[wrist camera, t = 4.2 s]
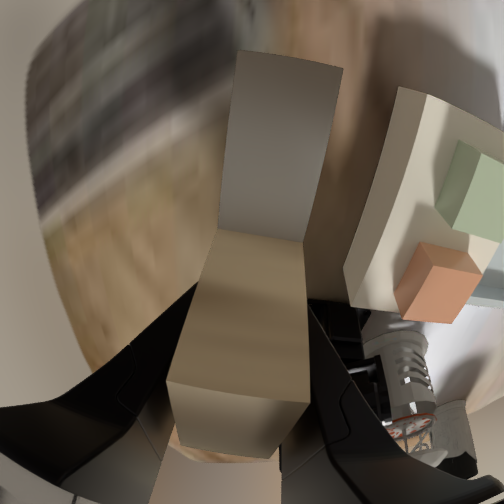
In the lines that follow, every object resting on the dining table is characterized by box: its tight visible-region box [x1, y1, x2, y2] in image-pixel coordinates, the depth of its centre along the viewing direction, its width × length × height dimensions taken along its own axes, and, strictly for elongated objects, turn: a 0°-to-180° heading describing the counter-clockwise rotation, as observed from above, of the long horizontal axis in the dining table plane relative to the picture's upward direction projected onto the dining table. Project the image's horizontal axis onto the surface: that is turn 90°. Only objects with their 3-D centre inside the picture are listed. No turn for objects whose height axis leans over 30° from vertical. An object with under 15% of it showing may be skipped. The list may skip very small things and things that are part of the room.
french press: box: [363, 330, 448, 467], centre depth 21 cm, size 10×12×25 cm
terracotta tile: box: [393, 242, 483, 324], centre depth 17 cm, size 4×4×2 cm
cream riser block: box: [343, 86, 504, 313], centre depth 18 cm, size 15×10×4 cm, turn 172°
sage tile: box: [434, 139, 504, 244], centre depth 13 cm, size 4×4×2 cm
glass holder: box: [410, 400, 478, 480], centre depth 36 cm, size 9×14×15 cm, turn 122°
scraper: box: [166, 50, 343, 459], centre depth 9 cm, size 14×2×8 cm, turn 172°
